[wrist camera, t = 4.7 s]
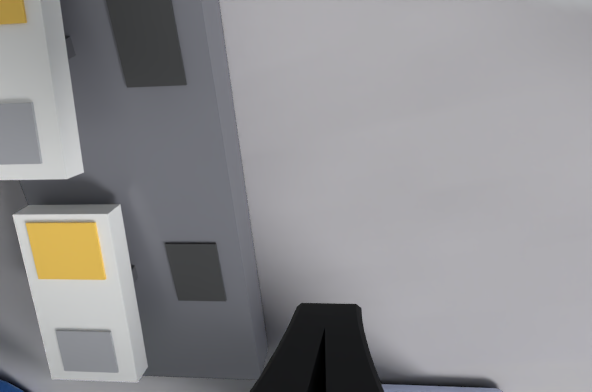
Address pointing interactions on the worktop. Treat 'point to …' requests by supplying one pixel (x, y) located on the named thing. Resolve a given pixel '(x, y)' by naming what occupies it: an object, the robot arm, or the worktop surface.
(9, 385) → the snack cup
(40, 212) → the rocker switch
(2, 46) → the outlet rocker
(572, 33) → the worktop surface
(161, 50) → the power strip
